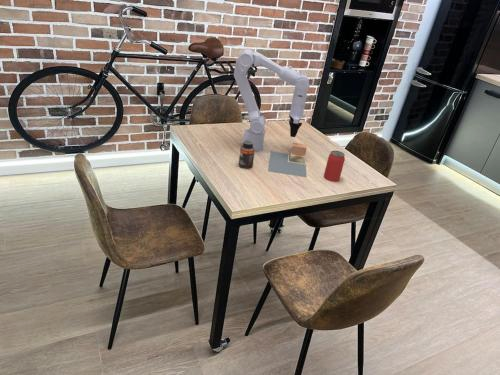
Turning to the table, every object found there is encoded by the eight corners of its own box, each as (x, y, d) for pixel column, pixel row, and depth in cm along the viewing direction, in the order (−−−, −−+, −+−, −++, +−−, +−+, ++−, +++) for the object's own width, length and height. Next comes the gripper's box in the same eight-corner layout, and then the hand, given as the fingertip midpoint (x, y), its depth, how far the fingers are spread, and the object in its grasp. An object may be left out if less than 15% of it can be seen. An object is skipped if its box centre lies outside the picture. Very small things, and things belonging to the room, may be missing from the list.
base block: (289, 161, 166) (291, 155, 164) (290, 155, 171) (291, 149, 169) (303, 163, 165) (304, 157, 164) (303, 158, 171) (304, 151, 169)
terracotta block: (291, 154, 165) (292, 145, 163) (291, 150, 168) (293, 142, 167) (304, 156, 165) (306, 148, 163) (304, 152, 168) (306, 144, 166)
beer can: (329, 184, 153) (336, 157, 147) (320, 176, 158) (326, 150, 152) (342, 182, 156) (349, 156, 150) (332, 175, 161) (339, 149, 155)
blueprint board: (267, 172, 155) (267, 170, 154) (270, 152, 173) (270, 150, 173) (306, 178, 154) (306, 176, 154) (304, 158, 173) (305, 156, 172)
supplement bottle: (254, 166, 159) (257, 141, 153) (249, 171, 154) (253, 146, 148) (241, 162, 160) (244, 138, 155) (236, 168, 155) (239, 142, 150)
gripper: (308, 110, 156) (301, 140, 162) (307, 100, 168) (301, 129, 175) (291, 107, 156) (285, 138, 163) (291, 98, 169) (286, 127, 175)
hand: (292, 133), depth 169 cm, fingers open, 7 cm apart
